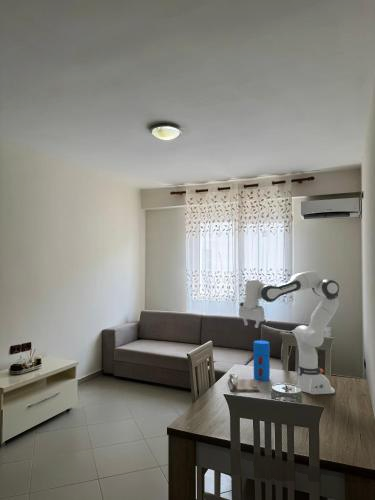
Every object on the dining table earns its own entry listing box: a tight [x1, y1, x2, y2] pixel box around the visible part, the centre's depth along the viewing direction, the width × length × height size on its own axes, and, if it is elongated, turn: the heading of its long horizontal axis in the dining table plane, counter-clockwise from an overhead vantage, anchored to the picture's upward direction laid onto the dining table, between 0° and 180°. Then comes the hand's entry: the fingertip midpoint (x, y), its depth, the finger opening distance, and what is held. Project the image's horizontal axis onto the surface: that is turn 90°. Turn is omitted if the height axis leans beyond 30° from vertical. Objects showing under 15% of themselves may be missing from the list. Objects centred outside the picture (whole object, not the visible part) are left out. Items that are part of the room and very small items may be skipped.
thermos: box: [253, 340, 271, 382], centre depth 240 cm, size 11×11×25 cm
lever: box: [229, 373, 239, 387], centre depth 224 cm, size 18×4×7 cm, turn 179°
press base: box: [227, 378, 261, 393], centre depth 224 cm, size 18×19×2 cm
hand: (251, 326), depth 222 cm, fingers open, 8 cm apart
